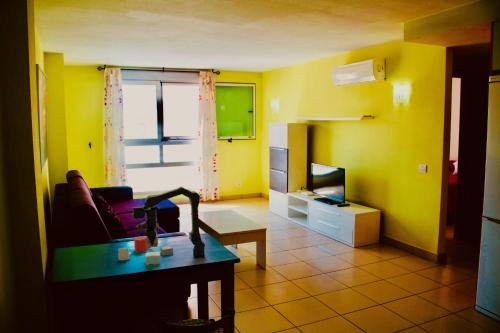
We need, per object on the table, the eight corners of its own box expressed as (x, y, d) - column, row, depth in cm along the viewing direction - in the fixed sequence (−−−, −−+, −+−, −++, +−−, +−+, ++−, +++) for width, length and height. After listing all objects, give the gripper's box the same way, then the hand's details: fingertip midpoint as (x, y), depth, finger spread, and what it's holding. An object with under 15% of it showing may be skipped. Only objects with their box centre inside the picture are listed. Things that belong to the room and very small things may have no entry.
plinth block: (160, 259, 232) (159, 251, 231) (160, 264, 224) (159, 255, 224) (146, 260, 230) (145, 252, 230) (145, 265, 222) (145, 257, 222)
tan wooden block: (169, 251, 246) (169, 245, 246) (173, 254, 241) (172, 248, 241) (160, 253, 243) (160, 247, 243) (163, 256, 238) (163, 249, 237)
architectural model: (119, 259, 234) (118, 247, 233) (131, 258, 236) (130, 246, 235) (118, 261, 231) (118, 249, 230) (130, 260, 233) (130, 248, 232)
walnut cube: (158, 243, 229) (157, 233, 229) (157, 246, 224) (156, 236, 223) (147, 244, 229) (147, 234, 228) (146, 247, 223) (146, 237, 222)
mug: (154, 250, 249) (153, 238, 248) (134, 252, 245) (134, 240, 244) (153, 246, 256) (152, 235, 255) (134, 248, 253) (133, 237, 252)
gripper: (139, 214, 232) (140, 240, 234) (134, 222, 214) (136, 249, 216) (158, 213, 234) (159, 239, 236) (155, 221, 216) (156, 248, 217)
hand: (152, 243), depth 226 cm, fingers closed on walnut cube, 6 cm apart
